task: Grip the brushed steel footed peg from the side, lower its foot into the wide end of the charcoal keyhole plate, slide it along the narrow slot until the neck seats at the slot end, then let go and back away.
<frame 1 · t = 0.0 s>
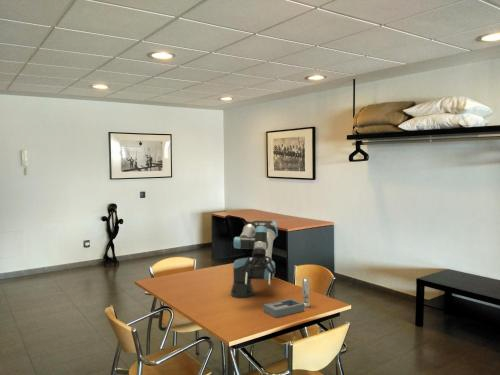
hand: (257, 284, 230), 15 cm above the table, tool tilted 35°, fingers open, 13 cm apart
steel peg: (305, 306, 237), on the table
keyhole plate: (283, 311, 228), on the table
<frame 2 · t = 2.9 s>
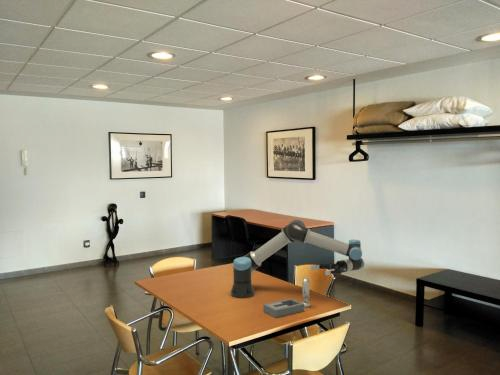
hand: (318, 270, 241), 20 cm above the table, tool horizontal, fingers open, 13 cm apart
nothing on the table moved.
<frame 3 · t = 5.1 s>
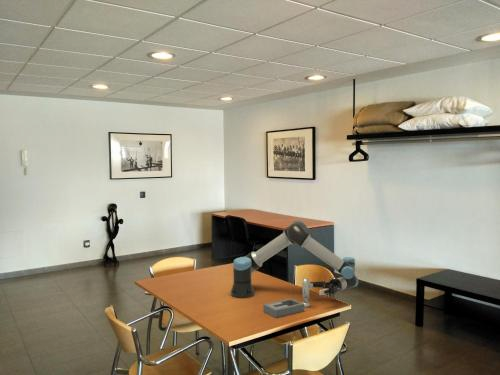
hand: (311, 289, 238), 9 cm above the table, tool horizontal, fingers open, 13 cm apart
nothing on the table moved.
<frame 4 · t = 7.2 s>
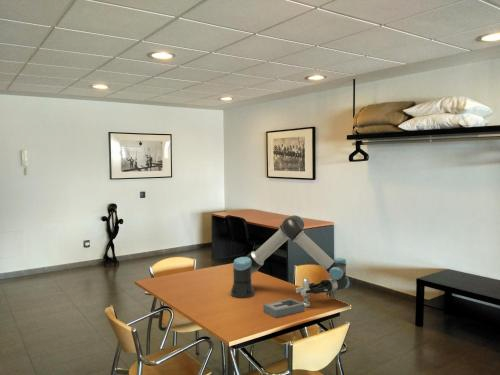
hand: (298, 291, 234), 10 cm above the table, tool horizontal, fingers closed on steel peg, 4 cm apart
steel peg: (305, 306, 237), on the table, touching gripper
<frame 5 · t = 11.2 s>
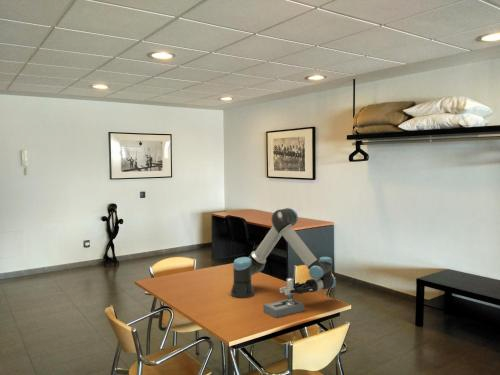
hand: (282, 291, 227), 12 cm above the table, tool horizontal, fingers closed on steel peg, 4 cm apart
steel peg: (290, 306, 230), point 2 cm above the table, touching gripper
when the fingers open (10 cm above the table, at t = 15.0 s): steel peg stays where it is, resting in keyhole plate.
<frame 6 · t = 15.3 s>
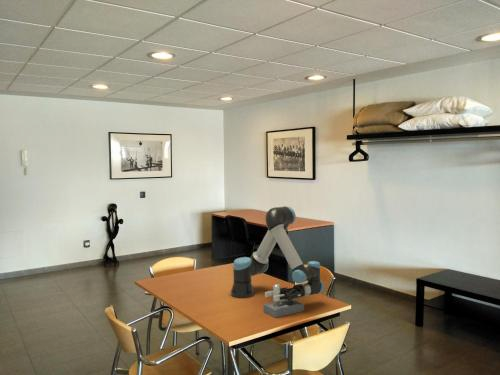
hand: (269, 296, 223), 10 cm above the table, tool horizontal, fingers open, 8 cm apart
steel peg: (276, 312, 226), resting in keyhole plate
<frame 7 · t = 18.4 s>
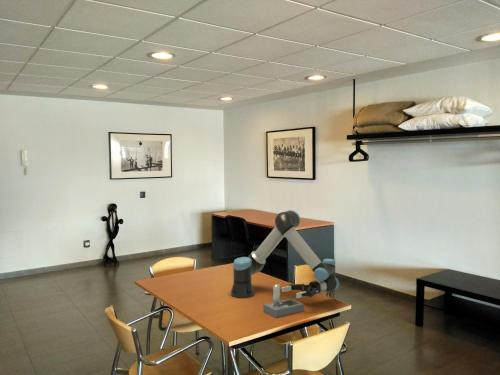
hand: (289, 292, 230), 10 cm above the table, tool horizontal, fingers open, 13 cm apart
nothing on the table moved.
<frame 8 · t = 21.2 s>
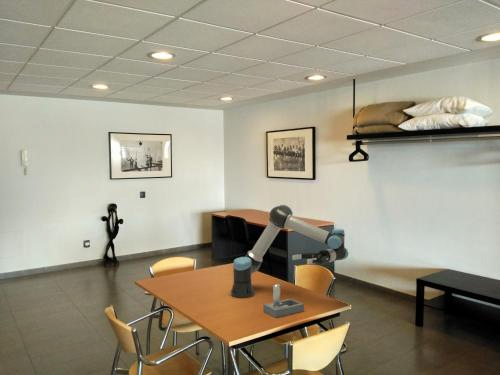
hand: (299, 259, 234), 28 cm above the table, tool horizontal, fingers open, 13 cm apart
nothing on the table moved.
at the end: steel peg 0.4 cm from the target spot on the keyhole plate, point 0.0 cm above the keyhole plate's base; steel peg tilted 0°; the gripper is holding nothing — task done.
